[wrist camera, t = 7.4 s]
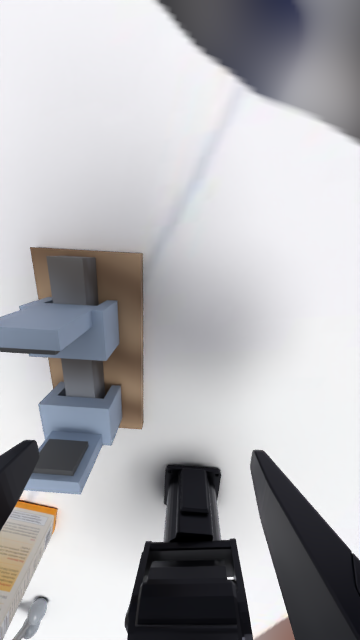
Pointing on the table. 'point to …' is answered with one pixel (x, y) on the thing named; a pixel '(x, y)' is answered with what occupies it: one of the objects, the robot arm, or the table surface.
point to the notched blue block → (61, 330)
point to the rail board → (129, 322)
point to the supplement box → (21, 554)
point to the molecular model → (32, 619)
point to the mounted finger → (73, 438)
